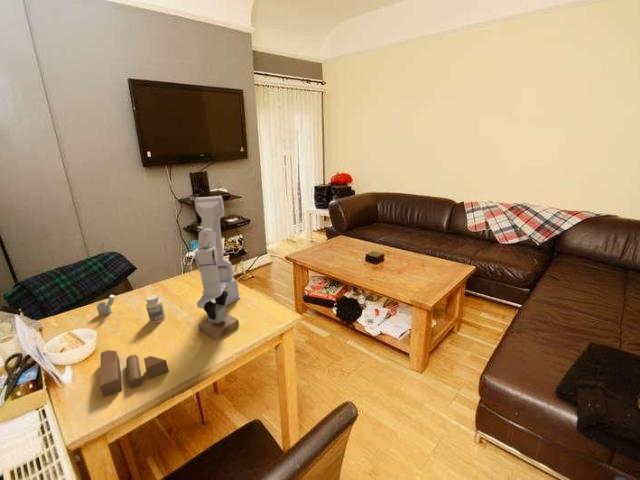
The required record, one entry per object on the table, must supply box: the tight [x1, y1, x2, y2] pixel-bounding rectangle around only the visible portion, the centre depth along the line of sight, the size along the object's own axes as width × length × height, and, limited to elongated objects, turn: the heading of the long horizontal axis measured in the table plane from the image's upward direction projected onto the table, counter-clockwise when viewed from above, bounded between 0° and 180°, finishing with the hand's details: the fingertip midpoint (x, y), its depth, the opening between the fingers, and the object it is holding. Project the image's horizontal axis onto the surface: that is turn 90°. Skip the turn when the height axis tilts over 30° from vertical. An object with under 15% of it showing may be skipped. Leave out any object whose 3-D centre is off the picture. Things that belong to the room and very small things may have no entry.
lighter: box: [96, 294, 116, 316], centre depth 127 cm, size 7×2×8 cm, turn 98°
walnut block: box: [197, 313, 240, 341], centre depth 115 cm, size 10×10×3 cm
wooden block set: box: [98, 349, 170, 399], centre depth 97 cm, size 17×6×18 cm
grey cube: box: [207, 304, 227, 323], centre depth 114 cm, size 4×4×4 cm
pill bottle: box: [145, 294, 166, 324], centre depth 121 cm, size 5×5×10 cm
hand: (217, 314), depth 114 cm, fingers closed on grey cube, 4 cm apart
